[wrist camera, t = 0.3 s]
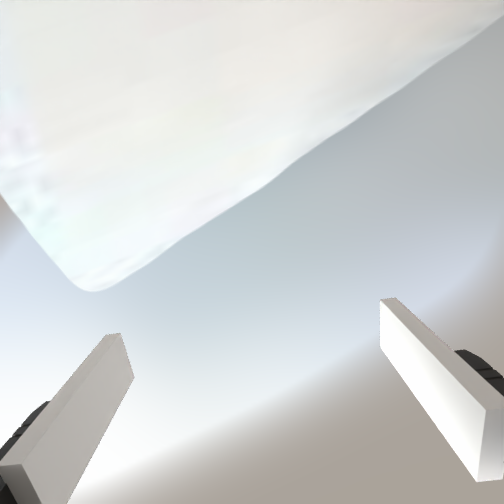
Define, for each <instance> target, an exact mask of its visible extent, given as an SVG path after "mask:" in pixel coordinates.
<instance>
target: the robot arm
mask: <svg viewBox="0 0 504 504" xmlns="http://www.w3.org/2000/svg"><path fill="white" fill-rule="evenodd" d="M380 347H381V349H382V350H383V351H384V353H385V354H386V356H387V357H388V358H389V360H390V361H391V363H392V364H393V365H394V367H395V368H396V370H397V371H398V372H399V374H400V375H401V377H402V378H403V379H404V381H405V382H406V384H407V385H408V386H409V387H410V389H411V390H412V392H413V393H414V395H415V396H416V398H417V399H418V400H419V402H420V403H421V405H422V406H423V407H424V409H425V410H426V412H427V413H428V414H429V416H430V417H431V419H432V420H433V421H434V423H435V424H436V426H437V427H438V429H439V430H440V431H441V433H442V434H443V436H444V437H445V438H446V440H447V441H448V443H449V444H450V445H451V447H452V448H453V449H454V451H455V452H456V454H457V455H458V457H459V458H460V459H461V460H462V462H463V464H464V465H465V466H466V468H467V469H468V471H469V472H470V473H471V475H472V476H473V477H474V479H475V480H476V482H480V481H489V480H499V479H503V473H504V378H503V376H502V375H500V374H499V373H498V372H497V371H496V370H493V368H492V367H491V366H490V365H489V364H488V363H486V362H485V361H484V360H483V359H482V358H480V357H478V356H477V355H475V354H472V353H471V352H469V351H467V350H457V351H453V350H452V349H451V348H450V347H449V346H448V345H447V344H446V343H445V342H443V341H442V340H441V339H440V338H439V337H438V336H437V335H436V334H435V333H434V332H433V331H431V330H430V329H429V328H428V327H427V326H426V325H425V324H424V323H423V322H421V321H420V320H419V319H418V318H417V317H416V316H415V315H414V314H413V313H412V312H411V311H410V310H409V309H407V308H406V307H405V306H404V305H403V304H402V303H401V302H400V301H399V300H397V298H389V299H381V300H380ZM133 379H134V375H133V372H132V368H131V365H130V362H129V359H128V356H127V352H126V349H125V346H124V343H123V340H122V337H121V334H120V333H116V334H109V335H105V336H104V338H103V339H102V340H101V341H100V342H99V344H98V345H97V346H96V347H95V348H94V349H93V351H92V352H91V353H90V354H89V355H88V357H87V358H86V359H85V360H84V362H83V363H82V364H81V365H80V366H79V367H78V369H77V370H76V371H75V372H74V373H73V375H72V376H71V377H70V378H69V380H68V381H67V382H66V383H65V384H64V386H63V387H62V388H61V389H60V390H59V392H58V393H57V394H56V395H55V396H54V397H53V399H52V400H51V401H46V402H45V403H44V404H42V405H41V406H40V407H39V408H37V409H36V410H35V411H34V412H32V413H31V414H30V416H29V417H28V418H27V419H26V420H25V421H24V422H23V424H22V425H21V427H19V428H18V429H17V430H16V432H15V433H14V434H13V436H12V438H9V440H8V441H7V442H6V443H5V444H4V446H3V447H2V448H1V449H0V504H67V502H68V500H69V499H70V497H71V495H72V493H73V491H74V489H75V487H76V486H77V484H78V482H79V480H80V478H81V476H82V474H83V472H84V471H85V468H86V467H87V465H88V463H89V461H90V459H91V458H92V455H93V454H94V452H95V450H96V448H97V446H98V444H99V443H100V441H101V439H102V437H103V435H104V433H105V431H106V429H107V428H108V426H109V424H110V422H111V420H112V418H113V416H114V414H115V412H116V411H117V409H118V407H119V405H120V403H121V401H122V400H123V398H124V396H125V394H126V392H127V390H128V388H129V386H130V385H131V383H132V381H133Z"/></svg>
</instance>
